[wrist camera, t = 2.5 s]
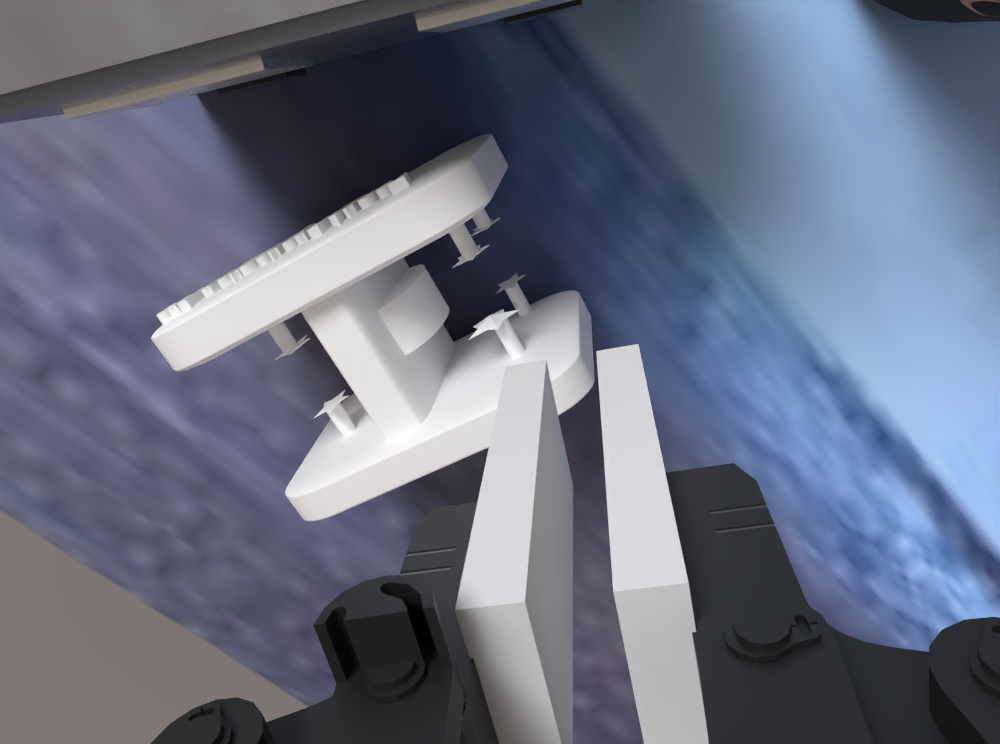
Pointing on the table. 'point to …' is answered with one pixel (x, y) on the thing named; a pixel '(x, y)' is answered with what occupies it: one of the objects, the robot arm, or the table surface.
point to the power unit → (203, 45)
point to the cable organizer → (389, 331)
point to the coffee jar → (946, 9)
